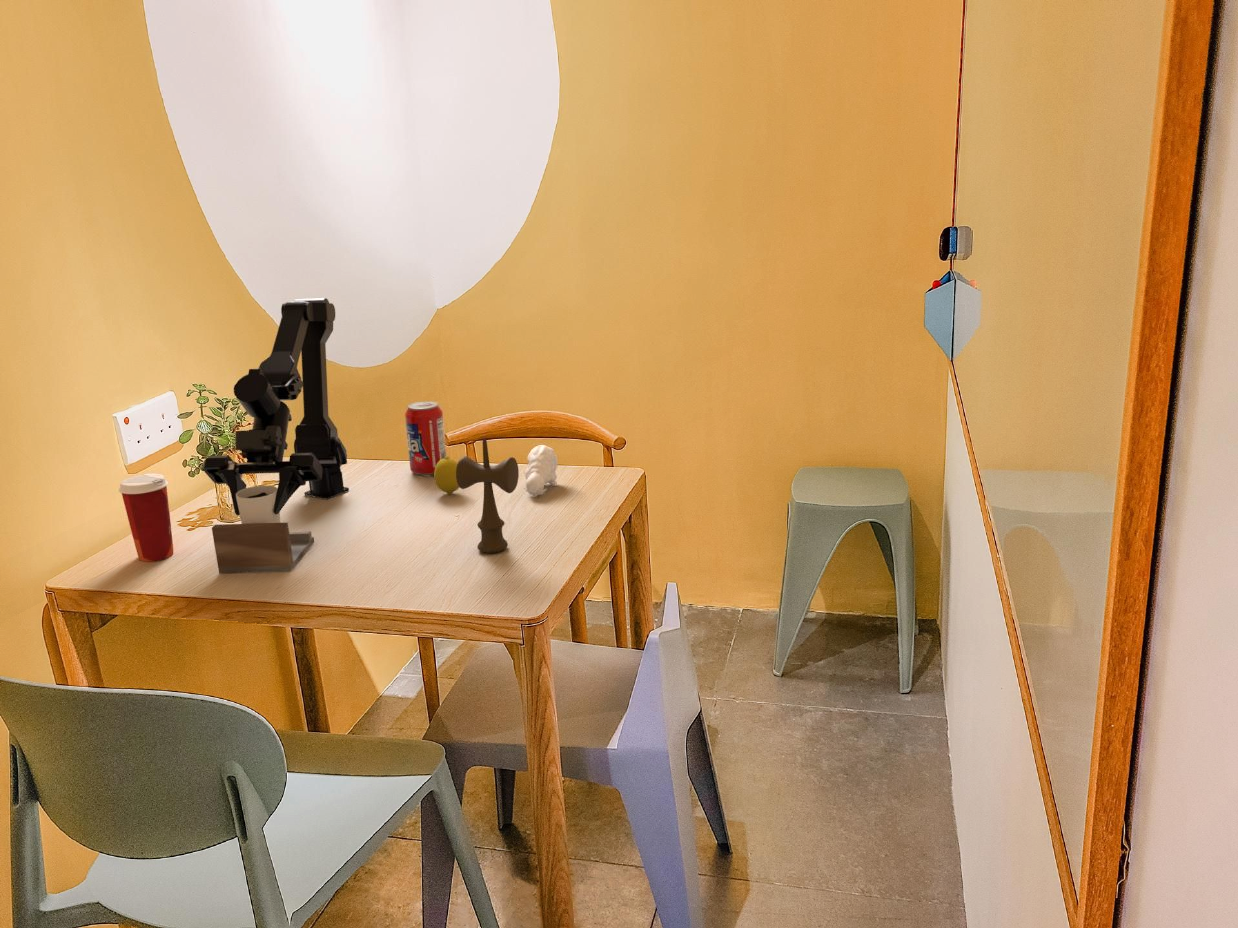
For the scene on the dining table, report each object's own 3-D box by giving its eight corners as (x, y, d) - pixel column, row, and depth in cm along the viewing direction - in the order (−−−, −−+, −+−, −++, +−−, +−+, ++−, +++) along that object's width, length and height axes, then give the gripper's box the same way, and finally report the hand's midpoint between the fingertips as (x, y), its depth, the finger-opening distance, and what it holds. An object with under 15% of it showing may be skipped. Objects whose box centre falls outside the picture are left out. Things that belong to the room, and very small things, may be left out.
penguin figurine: (558, 442, 204) (546, 464, 193) (561, 479, 207) (549, 503, 196) (528, 441, 205) (515, 463, 194) (532, 479, 208) (518, 502, 197)
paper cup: (189, 549, 176) (176, 474, 172) (157, 566, 169) (143, 487, 165) (154, 545, 179) (140, 471, 175) (121, 561, 172) (106, 484, 168)
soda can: (450, 474, 214) (444, 406, 209) (413, 479, 211) (407, 410, 207) (444, 465, 221) (438, 398, 216) (408, 469, 218) (401, 402, 214)
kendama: (512, 558, 167) (504, 443, 162) (459, 554, 170) (450, 441, 164) (525, 545, 173) (518, 433, 167) (474, 541, 176) (465, 431, 170)
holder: (247, 544, 178) (240, 501, 176) (314, 542, 178) (308, 499, 176) (219, 573, 166) (211, 527, 163) (291, 571, 165) (284, 525, 163)
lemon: (466, 490, 203) (463, 452, 201) (460, 499, 198) (456, 460, 195) (440, 490, 204) (436, 452, 201) (432, 499, 198) (429, 460, 196)
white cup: (250, 541, 173) (241, 486, 170) (289, 538, 174) (281, 484, 171) (239, 556, 167) (230, 499, 164) (280, 553, 167) (271, 497, 164)
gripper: (197, 410, 167) (180, 494, 160) (308, 406, 167) (296, 491, 160) (223, 442, 177) (208, 523, 170) (327, 438, 177) (317, 519, 169)
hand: (256, 513), depth 167 cm, fingers closed on white cup, 6 cm apart
